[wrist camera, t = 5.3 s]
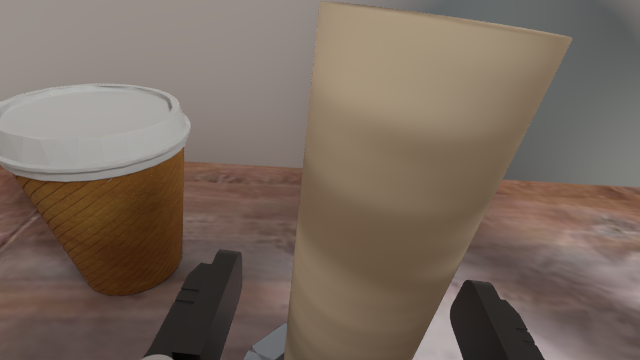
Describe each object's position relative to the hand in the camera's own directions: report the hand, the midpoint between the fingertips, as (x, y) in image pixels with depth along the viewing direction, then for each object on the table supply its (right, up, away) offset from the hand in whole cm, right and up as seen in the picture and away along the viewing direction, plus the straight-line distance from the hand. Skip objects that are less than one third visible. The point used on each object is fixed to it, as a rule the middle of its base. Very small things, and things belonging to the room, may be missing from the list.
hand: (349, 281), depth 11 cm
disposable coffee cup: (-15, -3, +12) cm, 19 cm away
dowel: (-1, -9, +4) cm, 10 cm away
